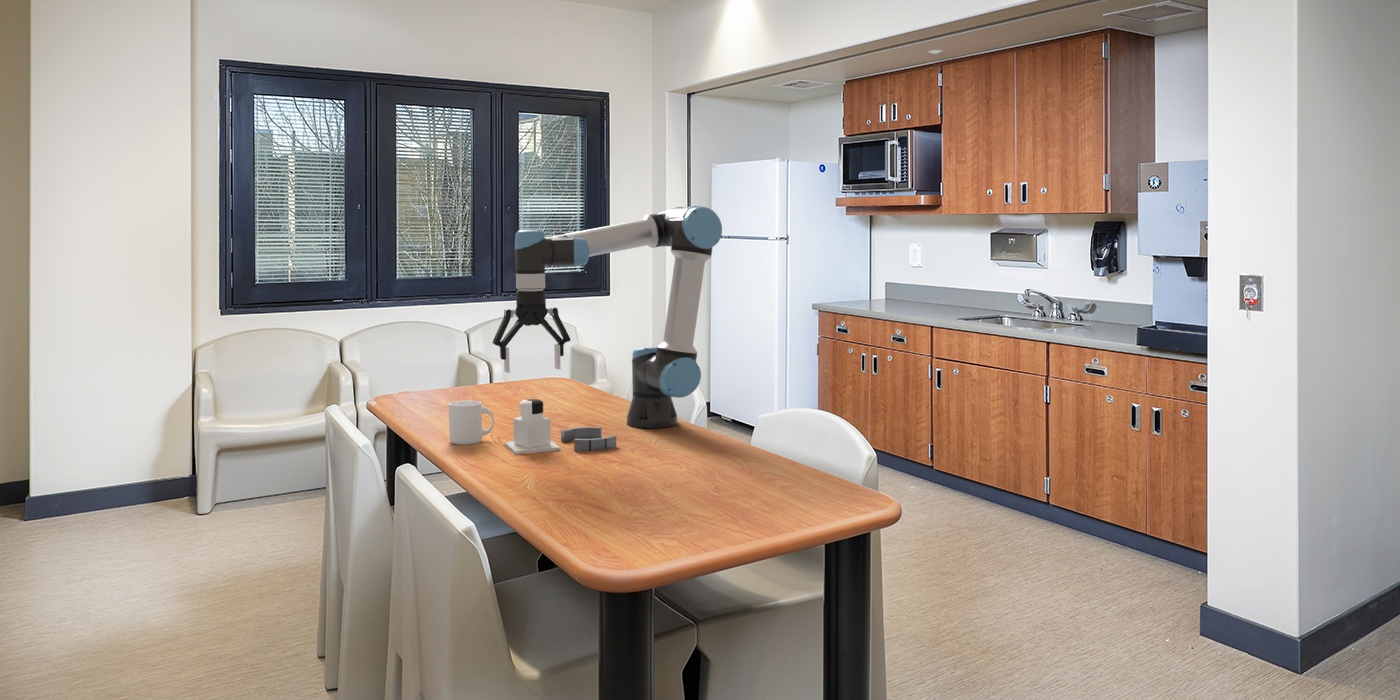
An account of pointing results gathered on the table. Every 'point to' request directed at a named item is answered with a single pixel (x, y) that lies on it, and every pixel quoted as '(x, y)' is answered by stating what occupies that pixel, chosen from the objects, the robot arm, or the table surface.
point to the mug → (467, 422)
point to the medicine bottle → (532, 425)
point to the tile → (522, 450)
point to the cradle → (588, 444)
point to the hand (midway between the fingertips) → (532, 370)
